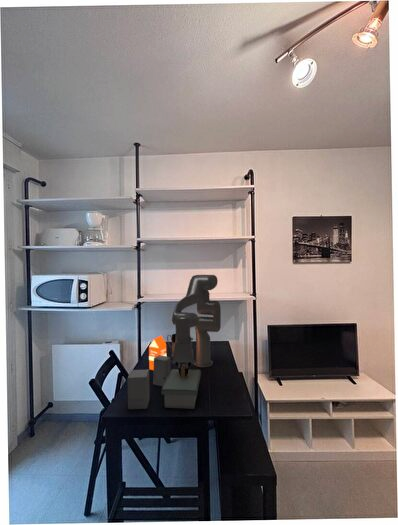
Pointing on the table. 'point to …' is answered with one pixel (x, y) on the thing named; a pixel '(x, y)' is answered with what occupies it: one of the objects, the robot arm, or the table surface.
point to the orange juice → (156, 350)
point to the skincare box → (161, 369)
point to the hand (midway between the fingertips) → (183, 374)
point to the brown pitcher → (172, 342)
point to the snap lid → (182, 382)
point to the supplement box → (138, 389)
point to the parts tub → (180, 401)
